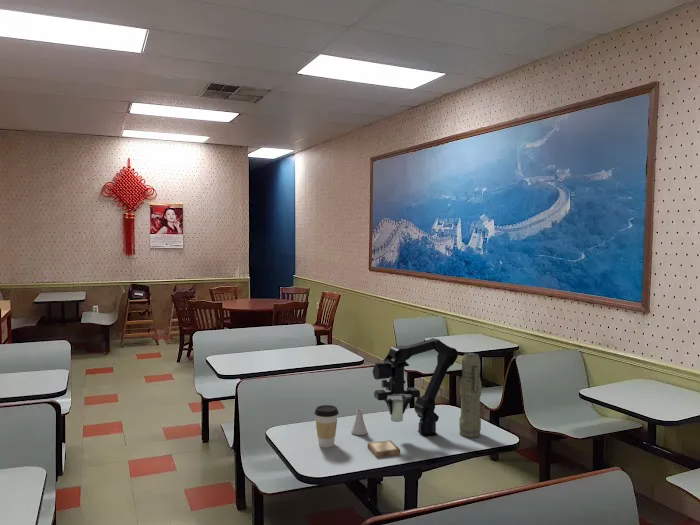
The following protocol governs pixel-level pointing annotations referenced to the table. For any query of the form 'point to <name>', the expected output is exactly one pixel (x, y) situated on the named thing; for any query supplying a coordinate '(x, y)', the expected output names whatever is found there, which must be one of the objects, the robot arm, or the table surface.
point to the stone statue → (470, 396)
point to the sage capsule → (397, 410)
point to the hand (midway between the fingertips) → (396, 413)
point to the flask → (359, 424)
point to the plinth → (383, 448)
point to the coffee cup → (326, 424)
